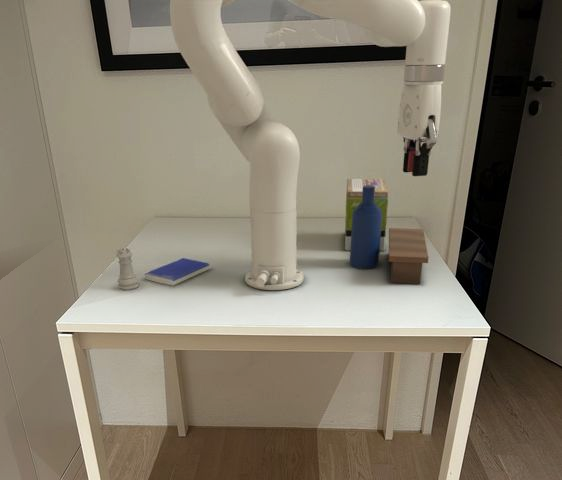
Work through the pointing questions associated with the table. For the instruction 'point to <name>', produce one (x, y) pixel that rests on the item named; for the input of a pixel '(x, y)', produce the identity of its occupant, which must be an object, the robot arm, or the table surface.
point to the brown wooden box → (407, 255)
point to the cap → (410, 160)
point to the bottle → (366, 231)
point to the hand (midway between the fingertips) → (414, 172)
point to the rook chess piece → (126, 271)
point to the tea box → (355, 199)
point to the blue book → (177, 271)
